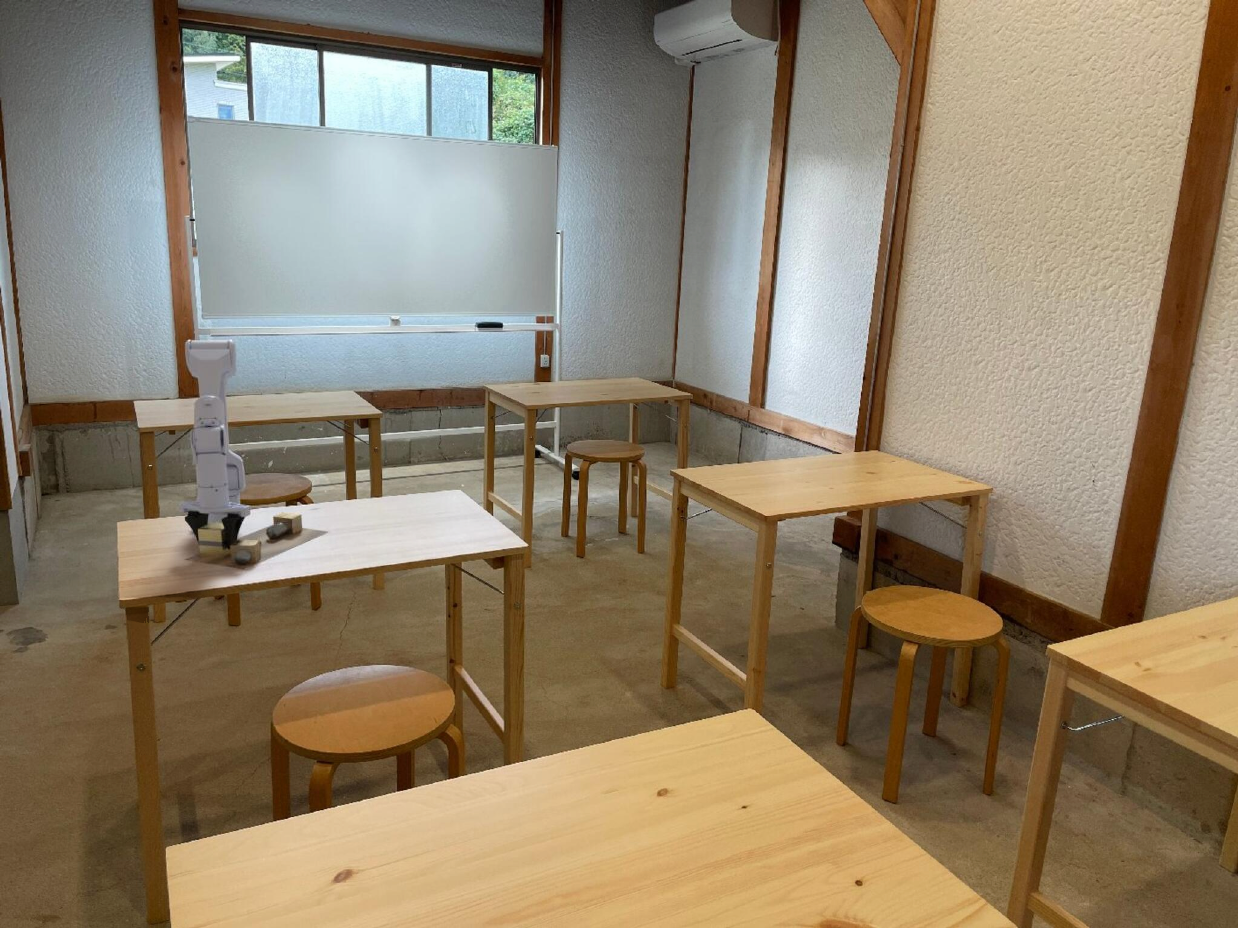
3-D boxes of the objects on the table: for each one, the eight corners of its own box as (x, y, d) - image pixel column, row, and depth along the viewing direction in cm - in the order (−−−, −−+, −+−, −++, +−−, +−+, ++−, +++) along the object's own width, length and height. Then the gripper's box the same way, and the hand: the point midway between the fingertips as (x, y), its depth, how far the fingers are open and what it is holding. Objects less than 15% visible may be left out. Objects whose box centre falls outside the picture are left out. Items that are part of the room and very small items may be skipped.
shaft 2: (281, 540, 195) (280, 523, 194) (262, 538, 196) (261, 521, 195) (305, 528, 203) (304, 512, 203) (286, 526, 205) (285, 510, 204)
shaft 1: (243, 550, 188) (242, 533, 187) (266, 550, 188) (265, 533, 187) (229, 565, 179) (228, 547, 178) (254, 565, 179) (253, 547, 178)
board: (185, 564, 182) (184, 559, 182) (275, 528, 207) (275, 523, 206) (244, 574, 177) (243, 569, 177) (329, 536, 202) (329, 531, 202)
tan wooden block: (199, 556, 183) (197, 529, 182) (213, 548, 188) (211, 521, 187) (223, 558, 183) (220, 530, 181) (236, 550, 188) (234, 523, 186)
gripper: (167, 487, 179) (173, 551, 182) (235, 491, 177) (240, 555, 181) (188, 478, 186) (193, 540, 189) (253, 482, 184) (258, 544, 187)
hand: (217, 547), depth 185 cm, fingers open, 6 cm apart
